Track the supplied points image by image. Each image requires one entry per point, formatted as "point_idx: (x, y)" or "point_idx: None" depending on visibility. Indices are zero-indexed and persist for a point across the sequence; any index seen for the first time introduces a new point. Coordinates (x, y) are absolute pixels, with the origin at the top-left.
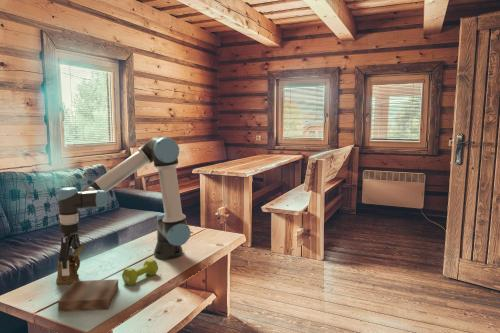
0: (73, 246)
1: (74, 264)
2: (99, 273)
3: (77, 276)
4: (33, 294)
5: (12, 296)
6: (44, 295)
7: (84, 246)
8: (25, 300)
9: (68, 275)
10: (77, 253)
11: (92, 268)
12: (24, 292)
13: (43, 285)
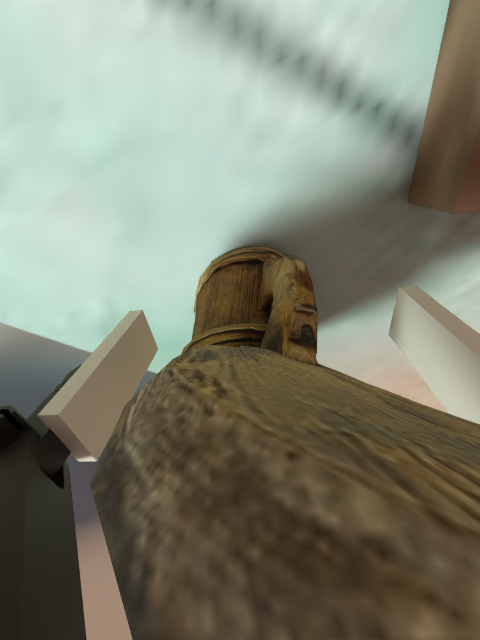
0: (65, 513)
1: (248, 321)
2: (108, 128)
3: (251, 257)
4: (399, 380)
5: None
6: None
7: (305, 445)
8: None
9: (416, 288)
10: (360, 384)
11: (53, 233)
12: None
13: None
